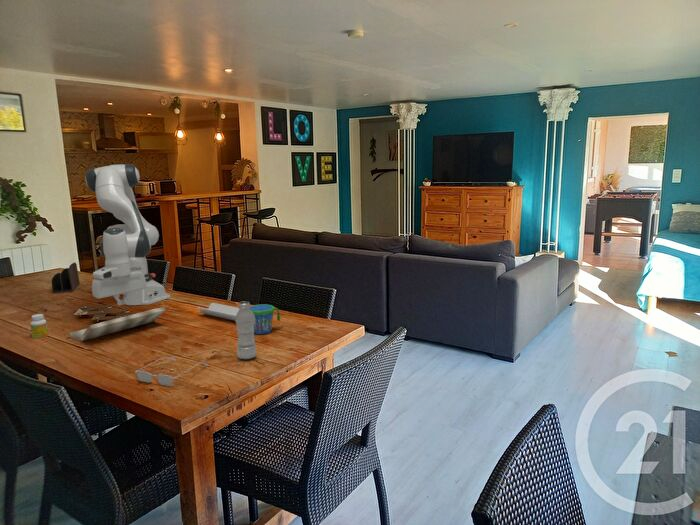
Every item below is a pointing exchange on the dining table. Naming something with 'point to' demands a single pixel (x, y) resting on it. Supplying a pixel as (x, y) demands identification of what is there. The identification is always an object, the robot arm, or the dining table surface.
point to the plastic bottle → (245, 331)
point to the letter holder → (66, 280)
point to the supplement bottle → (39, 326)
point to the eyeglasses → (161, 378)
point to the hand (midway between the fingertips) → (122, 304)
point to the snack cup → (263, 317)
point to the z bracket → (221, 311)
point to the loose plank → (121, 323)
